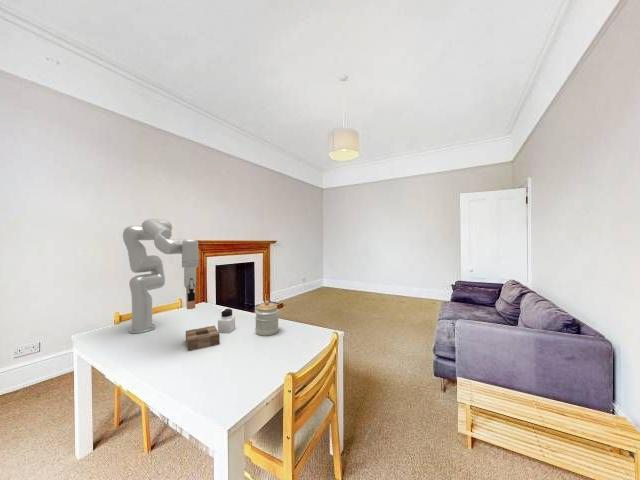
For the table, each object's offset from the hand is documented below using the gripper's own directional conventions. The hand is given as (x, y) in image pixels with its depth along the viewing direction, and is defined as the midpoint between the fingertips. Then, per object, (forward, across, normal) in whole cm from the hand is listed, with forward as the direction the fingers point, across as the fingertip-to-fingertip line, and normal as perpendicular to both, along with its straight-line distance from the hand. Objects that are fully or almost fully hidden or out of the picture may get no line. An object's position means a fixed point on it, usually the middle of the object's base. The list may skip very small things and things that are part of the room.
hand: (190, 299), depth 125 cm
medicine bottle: (+22, -8, +18) cm, 30 cm away
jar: (+23, +6, +38) cm, 44 cm away
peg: (+4, 0, 0) cm, 4 cm away
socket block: (+22, +2, +5) cm, 23 cm away
